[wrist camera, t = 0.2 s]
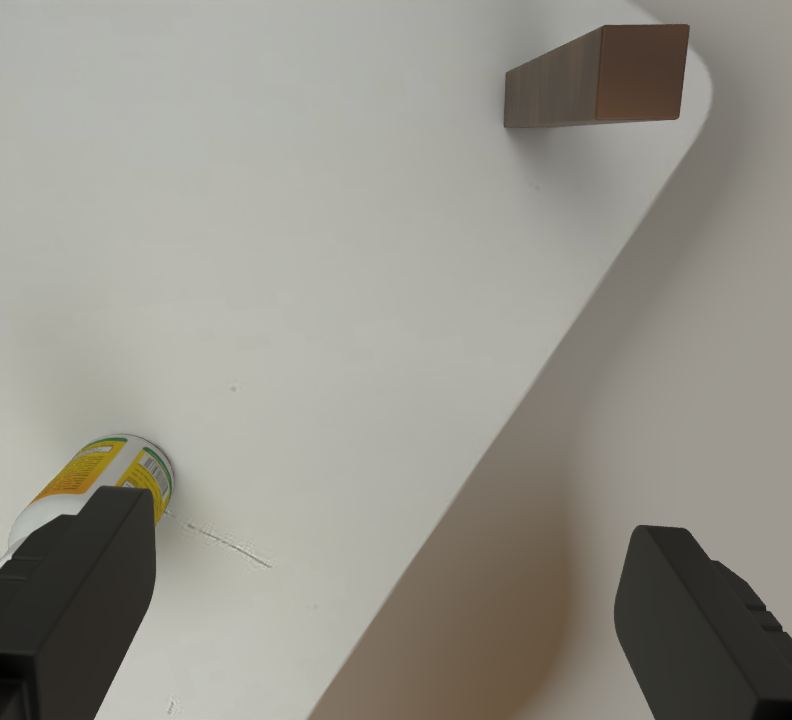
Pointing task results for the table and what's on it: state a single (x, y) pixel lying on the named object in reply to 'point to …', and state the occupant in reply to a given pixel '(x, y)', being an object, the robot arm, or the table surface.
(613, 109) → the stick
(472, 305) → the table surface
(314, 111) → the table surface
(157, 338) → the table surface
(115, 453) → the supplement bottle
